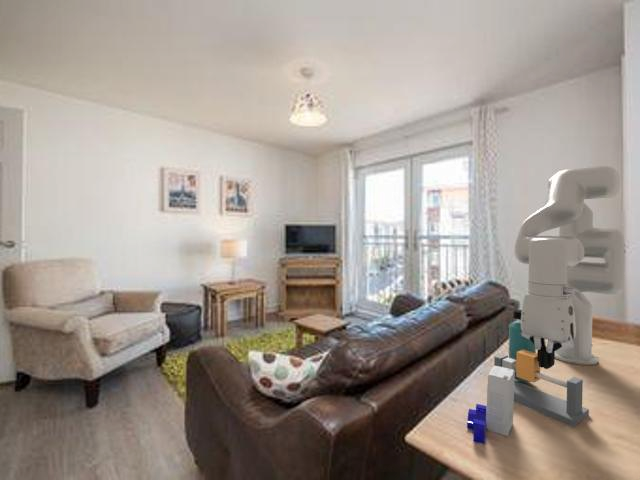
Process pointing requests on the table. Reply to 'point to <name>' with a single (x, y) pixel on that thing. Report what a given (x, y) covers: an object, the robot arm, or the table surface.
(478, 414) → the cable holder
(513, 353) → the beverage bottle
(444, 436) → the table surface
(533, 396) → the rail
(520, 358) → the orange rectangular block
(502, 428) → the skincare box
